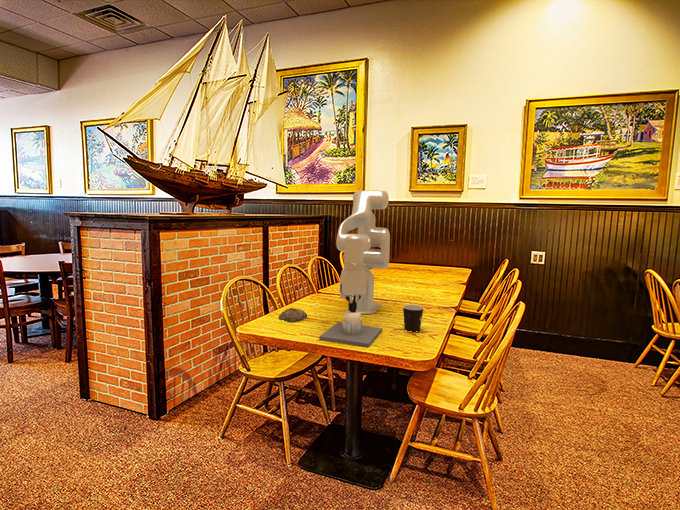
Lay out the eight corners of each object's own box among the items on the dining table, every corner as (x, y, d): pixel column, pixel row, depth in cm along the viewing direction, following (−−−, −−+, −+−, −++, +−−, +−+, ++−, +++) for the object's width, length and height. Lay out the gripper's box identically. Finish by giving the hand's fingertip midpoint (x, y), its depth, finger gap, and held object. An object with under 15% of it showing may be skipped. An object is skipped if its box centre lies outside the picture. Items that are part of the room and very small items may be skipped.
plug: (356, 328, 154) (356, 308, 153) (362, 333, 148) (363, 313, 147) (341, 330, 152) (341, 310, 151) (347, 335, 146) (348, 314, 145)
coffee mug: (411, 325, 165) (412, 303, 163) (426, 330, 158) (427, 308, 157) (393, 330, 157) (393, 307, 156) (408, 336, 151) (409, 312, 150)
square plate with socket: (338, 325, 163) (338, 312, 162) (382, 331, 156) (382, 317, 155) (319, 340, 145) (319, 325, 144) (368, 347, 137) (369, 331, 137)
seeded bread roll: (310, 317, 175) (310, 307, 174) (293, 324, 165) (293, 313, 164) (290, 313, 182) (290, 303, 181) (272, 319, 172) (272, 308, 171)
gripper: (366, 264, 153) (365, 308, 155) (332, 266, 148) (331, 310, 150) (374, 267, 146) (373, 312, 148) (339, 268, 141) (338, 315, 143)
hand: (352, 311), depth 149 cm, fingers closed
